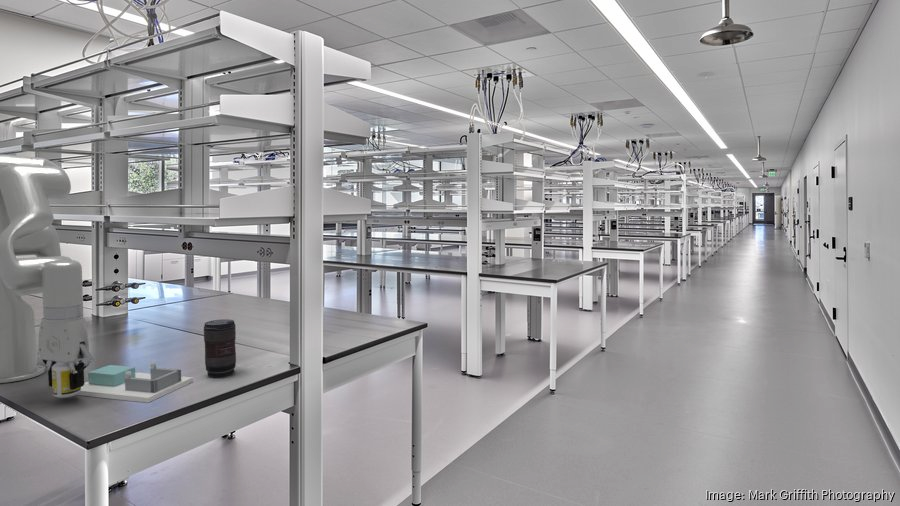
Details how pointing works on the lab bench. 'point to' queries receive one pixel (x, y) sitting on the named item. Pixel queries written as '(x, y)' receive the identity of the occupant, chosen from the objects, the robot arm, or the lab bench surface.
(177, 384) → the board
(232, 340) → the camera lens
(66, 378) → the supplement bottle
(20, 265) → the robot arm
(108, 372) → the block
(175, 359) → the lab bench surface
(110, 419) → the lab bench surface
